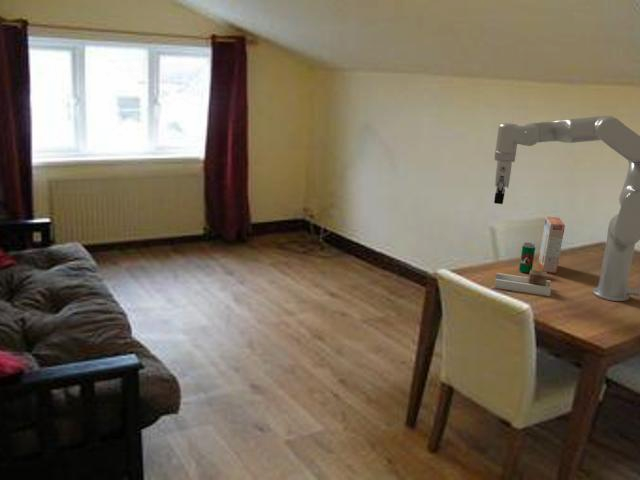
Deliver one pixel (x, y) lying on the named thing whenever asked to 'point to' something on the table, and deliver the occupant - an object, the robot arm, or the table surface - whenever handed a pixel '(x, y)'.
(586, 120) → the robot arm
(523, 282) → the chute
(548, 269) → the cracker box
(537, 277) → the walnut block
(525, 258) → the soda can
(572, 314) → the table surface
